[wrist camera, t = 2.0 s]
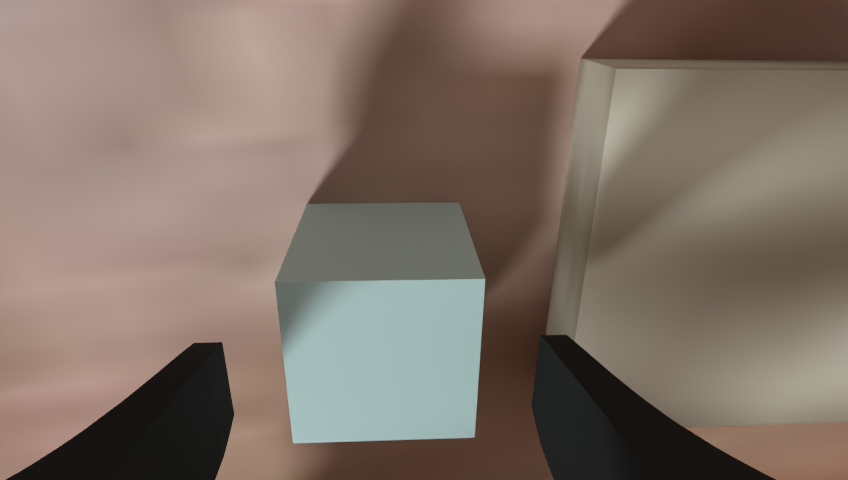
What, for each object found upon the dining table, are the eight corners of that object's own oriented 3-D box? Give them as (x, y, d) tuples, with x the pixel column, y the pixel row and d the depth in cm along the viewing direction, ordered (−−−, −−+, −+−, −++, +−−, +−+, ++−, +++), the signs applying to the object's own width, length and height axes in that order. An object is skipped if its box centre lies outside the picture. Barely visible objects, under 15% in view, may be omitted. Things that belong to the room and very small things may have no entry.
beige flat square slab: (821, 364, 21) (888, 420, 18) (536, 371, 20) (560, 431, 17) (937, 60, 16) (1050, 72, 13) (575, 56, 15) (615, 68, 13)
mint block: (453, 329, 18) (474, 437, 14) (317, 331, 18) (293, 443, 14) (459, 201, 17) (485, 279, 12) (307, 202, 16) (275, 281, 12)
